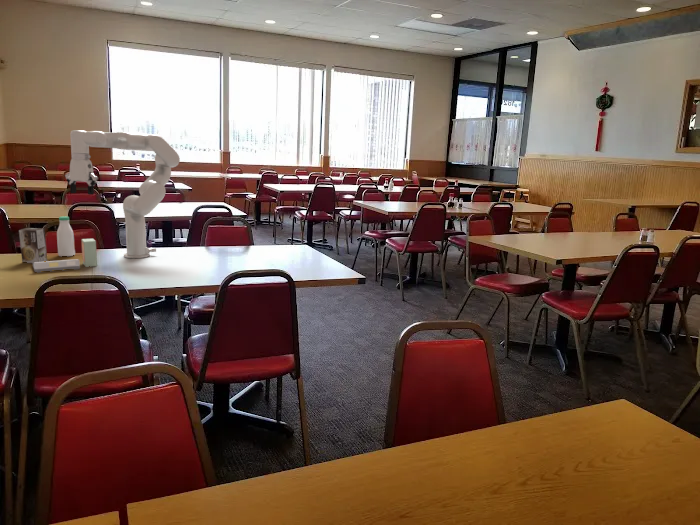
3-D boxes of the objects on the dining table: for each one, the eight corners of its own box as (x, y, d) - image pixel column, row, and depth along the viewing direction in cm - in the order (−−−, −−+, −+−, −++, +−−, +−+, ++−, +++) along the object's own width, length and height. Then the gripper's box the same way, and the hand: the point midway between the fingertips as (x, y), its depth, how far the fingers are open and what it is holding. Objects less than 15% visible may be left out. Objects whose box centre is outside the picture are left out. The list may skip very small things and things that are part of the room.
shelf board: (75, 262, 263) (74, 253, 262) (79, 269, 251) (79, 259, 250) (32, 266, 253) (31, 256, 252) (35, 272, 241) (34, 262, 240)
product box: (94, 262, 265) (93, 238, 262) (97, 265, 258) (95, 241, 256) (82, 263, 262) (81, 239, 260) (85, 266, 256) (83, 241, 253)
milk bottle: (74, 256, 277) (71, 217, 273) (57, 257, 274) (54, 217, 270) (75, 253, 284) (73, 215, 280) (59, 254, 281) (56, 216, 277)
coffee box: (48, 261, 265) (45, 228, 262) (39, 263, 259) (36, 230, 255) (30, 260, 266) (27, 227, 262) (21, 262, 259) (18, 229, 256)
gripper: (101, 158, 257) (103, 194, 261) (70, 156, 261) (72, 192, 265) (90, 158, 250) (92, 195, 253) (58, 156, 254) (61, 193, 257)
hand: (82, 193), depth 259 cm, fingers open, 9 cm apart
